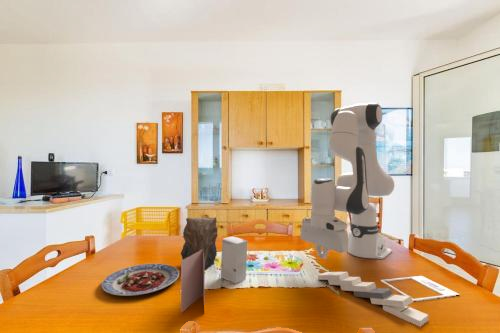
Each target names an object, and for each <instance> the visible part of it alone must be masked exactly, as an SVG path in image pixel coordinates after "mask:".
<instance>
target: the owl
mask: <svg viewBox="0 0 500 333" xmlns="http://www.w3.org/2000/svg"><path fill="white" fill-rule="evenodd" d="M185 219H186V224H185V226H184V227H183V233H182V238H183V240H184V241H185V242H184V244H183V245H182V250H181V252H180V255H181V259H182V260H184V259H186V258H188V257H189V256H191V255H193V254H195V253H197V252H199V251H200V250H202V249H203V253H204V262H205V271H207V269H209V268H210V267H212V266H213V265H215V261H216V259H217V254H218V252H217V247H216V241H217V237H218V227H217V217H209V216H201V217H186V218H185Z"/></svg>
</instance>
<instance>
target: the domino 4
mask: <svg viewBox="0 0 500 333" xmlns="http://www.w3.org/2000/svg"><path fill="white" fill-rule="evenodd" d="M353 294H354V297H358V298H368V299H370V298H376V299H385V298H387V297H389V296H391V295H394V294H393V291H392V288H384V287H383V288H379V287H376V288H375V289H372V290H370V291H368V292H360V291H353Z"/></svg>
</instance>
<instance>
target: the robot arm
mask: <svg viewBox="0 0 500 333" xmlns="http://www.w3.org/2000/svg"><path fill="white" fill-rule="evenodd" d="M382 120H383V110H382V107H381V105H380V104H379V103H376V102H368V103H356V104H353V105H348V106H343V107H337V108H335V109H334V110H333V111H332V112H331V114H330V123H331V130H330V135H329V140H328V141H329V142H328V145H329V146H328V147H329V150H330V151H331V153H332V154H334V156H336V157H338V158H340V159H343V160H345V161H347V162H350V164H351V168H352V172H351V171H350V172H345V173H341V174H339V175H338V177H337V179H336V184H335V183H334V180H333V179H332V178H330V177H322V178H321V177H320V178H316V179H315V180H313V181H312V184H311V191H310V204H311V210H310V218H309V217H304V218H303V219H302V220H301V227H300V234H299V236H300V240H301V241H304V242H307V243H309V244H310V243H311V244H313V245H314V246H315V249H316V252H317V257H318V258H321V259H324V260H325V259H328V254H329V252H330V250H331V251H333V252H338V253H340V254H343V253H346V252H347V253H348V254H350V255H352V256H355V257H359V258H364V259H377V260H382V259H383V260H384V259H385V258H386V257H388V255H390V254H391V253H392V252H393V250H392V249H391V248H389V247H387V240H386V238H384V237H383V235H382V234H380V232H379V230H382V229H381V228H382V225H381V224H377V209H376V207H375V206H374V205H373V204H371V203H370V197H384V196H385V197H387V196H390V195H391V194H393V192H394V190H395V181H394V179H393V177H392V176H391V175H390V174H388V173H387V172H386V171H385V170H384V169H383V168H382V167H381V165H380V163H379V160H378V156H377V137H376V136H377V134H376V128H377V127H379V125H380V124H381V122H382ZM335 211H337V212H343V213H349V214H350V216H351V222H350V227H349V228H350V229H349V230H350V232H349V233H348V231H347V229H348V224H347V223H346V222H344V221H343V220H341V219H340V218H338V217H336V212H335ZM323 250H324V251H323Z"/></svg>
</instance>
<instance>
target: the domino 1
mask: <svg viewBox="0 0 500 333" xmlns="http://www.w3.org/2000/svg"><path fill="white" fill-rule="evenodd" d="M346 277H350V276H349V272H348V271H325V272H323V273H319V274H317V279H318V280H321V281H323V280H326V281H328V280H341V279H344V278H346Z"/></svg>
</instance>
